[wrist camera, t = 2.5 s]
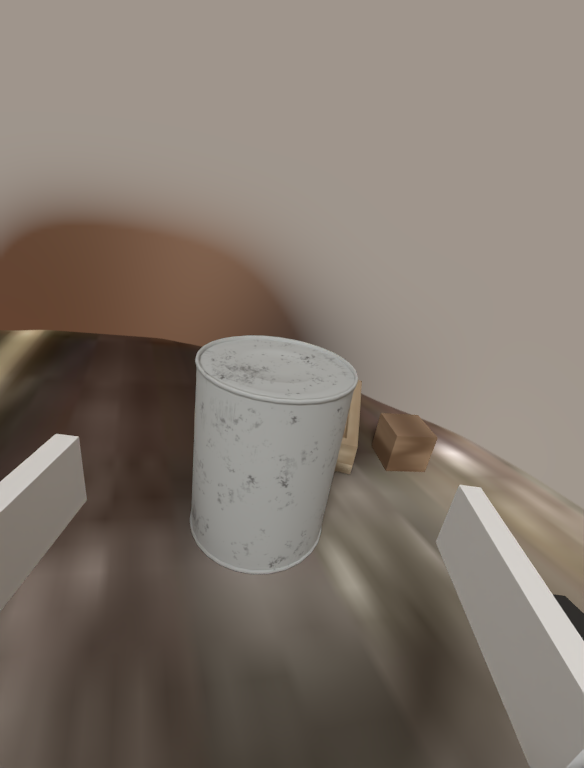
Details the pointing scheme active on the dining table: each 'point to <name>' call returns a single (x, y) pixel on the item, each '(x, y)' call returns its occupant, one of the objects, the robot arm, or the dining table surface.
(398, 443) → the walnut block
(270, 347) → the speckled tin can
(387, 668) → the dining table surface
